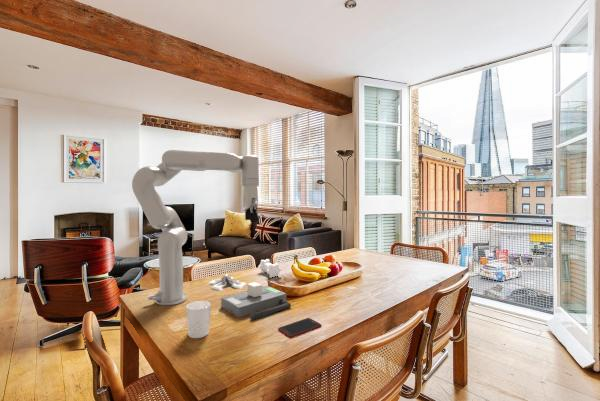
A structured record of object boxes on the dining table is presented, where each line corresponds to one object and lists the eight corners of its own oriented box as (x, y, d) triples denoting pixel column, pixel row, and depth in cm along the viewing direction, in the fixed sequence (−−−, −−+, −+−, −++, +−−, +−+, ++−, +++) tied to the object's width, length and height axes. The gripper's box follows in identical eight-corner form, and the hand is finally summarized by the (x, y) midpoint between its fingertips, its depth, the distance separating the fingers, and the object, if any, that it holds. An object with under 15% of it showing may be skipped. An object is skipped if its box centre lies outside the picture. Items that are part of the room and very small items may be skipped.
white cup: (190, 328, 106) (190, 300, 106) (212, 328, 107) (212, 300, 107) (183, 339, 98) (183, 309, 98) (207, 339, 99) (207, 309, 99)
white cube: (253, 297, 126) (254, 286, 125) (247, 294, 129) (247, 283, 129) (261, 295, 128) (261, 284, 128) (255, 292, 132) (255, 282, 132)
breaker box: (238, 317, 116) (238, 307, 115) (221, 306, 126) (221, 297, 126) (286, 302, 132) (286, 293, 132) (267, 293, 142) (267, 285, 142)
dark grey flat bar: (251, 321, 113) (251, 316, 113) (242, 315, 117) (242, 310, 117) (291, 307, 126) (291, 302, 126) (282, 303, 131) (282, 298, 131)
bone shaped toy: (258, 273, 179) (256, 260, 178) (271, 270, 183) (270, 257, 182) (268, 280, 166) (267, 265, 165) (282, 276, 170) (281, 262, 169)
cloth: (250, 288, 151) (250, 276, 151) (213, 294, 142) (213, 281, 142) (238, 276, 171) (238, 266, 170) (204, 281, 162) (204, 270, 162)
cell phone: (277, 330, 106) (277, 328, 106) (308, 319, 115) (308, 317, 115) (290, 339, 100) (290, 336, 100) (322, 327, 109) (322, 324, 109)
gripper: (238, 183, 141) (239, 219, 142) (246, 182, 125) (247, 223, 126) (253, 183, 144) (254, 218, 145) (263, 182, 128) (264, 222, 129)
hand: (251, 220), depth 136 cm, fingers open, 9 cm apart
